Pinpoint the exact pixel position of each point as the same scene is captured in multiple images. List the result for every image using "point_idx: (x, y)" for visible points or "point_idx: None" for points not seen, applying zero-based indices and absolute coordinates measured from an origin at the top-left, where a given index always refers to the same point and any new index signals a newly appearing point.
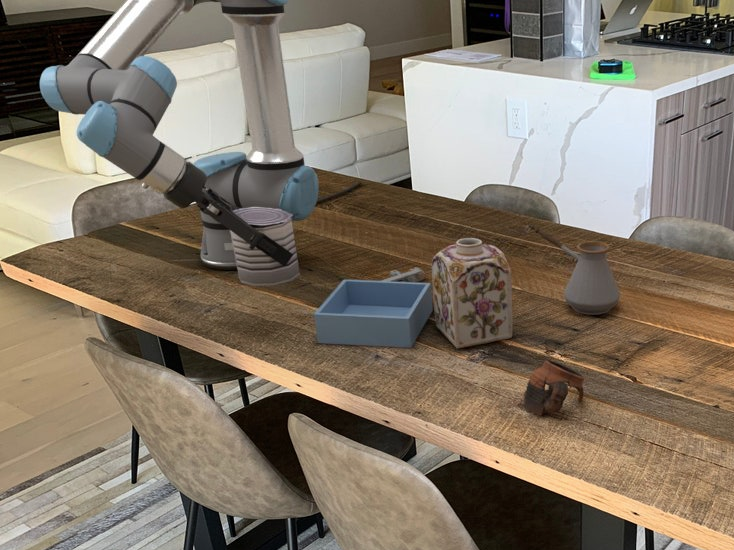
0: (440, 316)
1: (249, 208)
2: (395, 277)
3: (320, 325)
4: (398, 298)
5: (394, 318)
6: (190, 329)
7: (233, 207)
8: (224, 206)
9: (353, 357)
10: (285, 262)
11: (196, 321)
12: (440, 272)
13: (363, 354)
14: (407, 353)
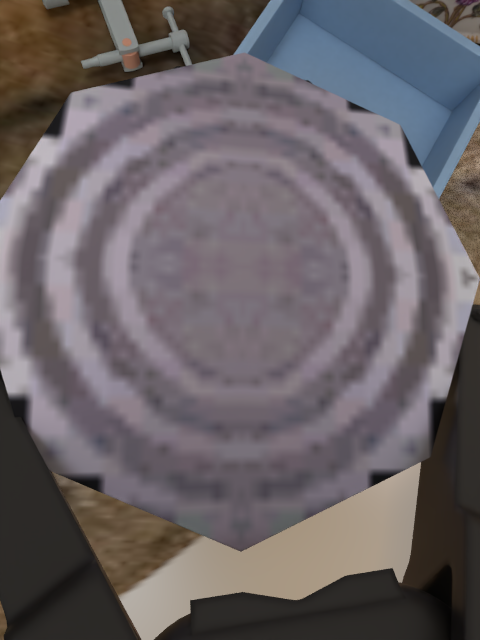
0: (431, 6)
1: (12, 304)
2: (110, 1)
3: None
4: (270, 45)
5: None
6: (172, 546)
7: (26, 447)
8: (433, 610)
9: (460, 226)
10: None
11: (123, 529)
12: None
13: (453, 205)
14: (477, 130)
